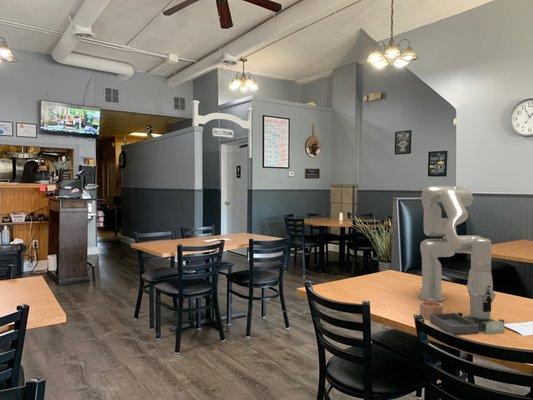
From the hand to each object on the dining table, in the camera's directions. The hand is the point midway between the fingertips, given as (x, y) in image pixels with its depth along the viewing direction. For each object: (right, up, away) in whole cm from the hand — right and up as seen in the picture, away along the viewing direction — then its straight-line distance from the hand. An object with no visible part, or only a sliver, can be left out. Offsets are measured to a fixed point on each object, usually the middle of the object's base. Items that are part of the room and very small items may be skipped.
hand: (480, 308), depth 168 cm
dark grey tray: (-12, -8, -2) cm, 15 cm away
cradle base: (0, -8, -1) cm, 8 cm away
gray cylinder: (0, -4, 0) cm, 4 cm away
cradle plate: (0, -6, 0) cm, 6 cm away
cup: (-16, -7, +12) cm, 21 cm away
